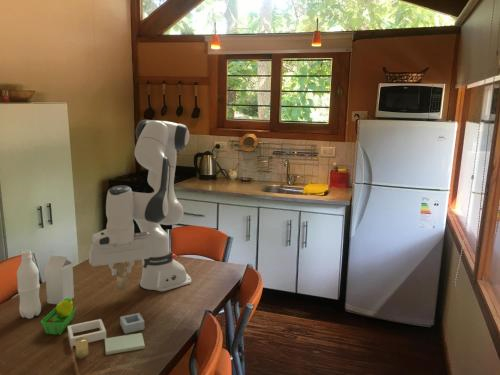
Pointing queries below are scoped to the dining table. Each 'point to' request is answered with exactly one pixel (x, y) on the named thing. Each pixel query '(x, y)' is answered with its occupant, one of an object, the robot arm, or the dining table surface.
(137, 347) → the plate board
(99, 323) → the tray
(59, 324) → the fruit basket
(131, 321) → the socket block
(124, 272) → the dowel
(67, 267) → the milk carton
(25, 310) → the water bottle
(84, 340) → the cylinder
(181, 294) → the dining table surface
